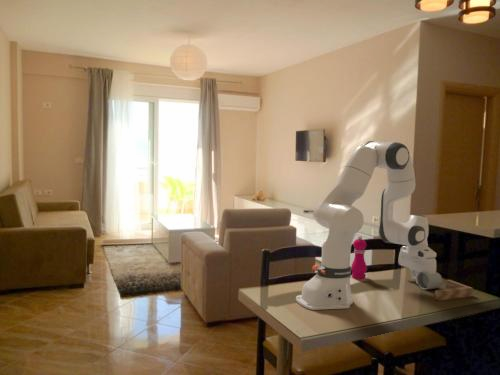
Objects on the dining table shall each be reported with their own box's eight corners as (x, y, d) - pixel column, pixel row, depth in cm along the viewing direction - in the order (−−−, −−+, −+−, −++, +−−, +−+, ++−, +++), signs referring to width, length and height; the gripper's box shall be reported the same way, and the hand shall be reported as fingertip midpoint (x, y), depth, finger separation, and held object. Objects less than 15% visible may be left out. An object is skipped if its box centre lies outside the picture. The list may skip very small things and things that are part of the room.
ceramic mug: (443, 290, 177) (444, 272, 177) (428, 291, 175) (429, 274, 174) (425, 283, 187) (426, 266, 187) (411, 284, 185) (411, 268, 184)
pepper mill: (369, 278, 193) (371, 236, 191) (356, 280, 190) (358, 237, 188) (360, 274, 199) (361, 234, 198) (347, 276, 197) (349, 234, 195)
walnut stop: (438, 300, 164) (438, 292, 164) (416, 291, 175) (417, 283, 175) (472, 296, 170) (472, 287, 170) (449, 287, 181) (449, 279, 181)
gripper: (395, 245, 195) (394, 274, 196) (428, 255, 175) (426, 287, 176) (406, 244, 197) (405, 272, 198) (439, 254, 178) (438, 285, 179)
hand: (415, 279), depth 187 cm, fingers closed
